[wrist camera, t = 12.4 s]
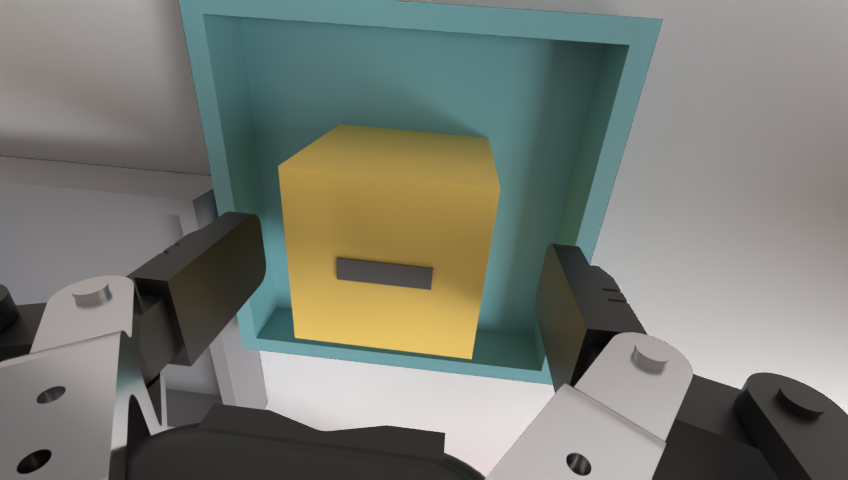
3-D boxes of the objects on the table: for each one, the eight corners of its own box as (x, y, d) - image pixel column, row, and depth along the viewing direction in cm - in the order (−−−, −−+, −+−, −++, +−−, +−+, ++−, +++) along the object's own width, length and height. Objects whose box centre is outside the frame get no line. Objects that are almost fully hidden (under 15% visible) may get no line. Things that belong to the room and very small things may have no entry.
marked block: (488, 137, 13) (500, 189, 9) (469, 267, 15) (471, 361, 11) (340, 124, 13) (276, 167, 9) (343, 253, 16) (293, 340, 11)
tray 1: (230, 177, 15) (192, 200, 13) (267, 402, 21) (244, 444, 19) (-68, 149, 16) (-151, 166, 14) (46, 375, 21) (-1, 412, 19)
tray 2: (626, 23, 12) (662, 18, 10) (543, 342, 17) (554, 384, 15) (225, -6, 12) (175, -15, 10) (269, 311, 18) (243, 348, 16)
